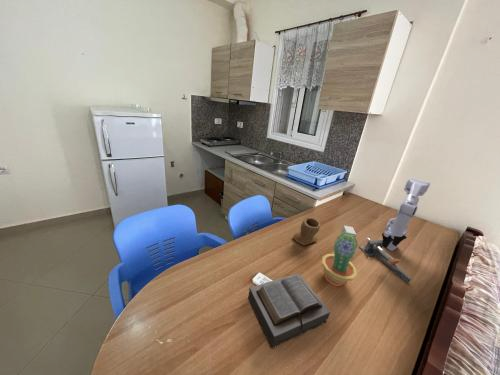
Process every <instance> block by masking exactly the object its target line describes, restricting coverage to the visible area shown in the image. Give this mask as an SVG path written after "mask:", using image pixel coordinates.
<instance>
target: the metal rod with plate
mask: <svg viewBox="0 0 500 375" xmlns="http://www.w3.org/2000/svg"><path fill="white" fill-rule="evenodd" d="M368 241H373V240H372V239H371V237H366V238H365V242H366V243H368ZM374 248H375V249H376V250H377V251H379V252H380V253H381V254H382V255H383V256H384V257H386V258H387V259H388V261H387V262H388V263H389V264H395V265H398V264H400V263H401V260H400V259H399V258H398V257H397V258H394V257H393V256H392V255H390V254H389V253H388V252H387V251H385V250H384V249H383V247H382V248H380V247H379V246H378V245H377V244H376V245H374Z"/></svg>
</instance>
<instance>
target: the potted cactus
mask: <svg viewBox="0 0 500 375" xmlns="http://www.w3.org/2000/svg"><path fill="white" fill-rule="evenodd" d="M340 234H341V233H340ZM340 234H339V235H338V236H337V237H336V240H335V241H334V242H335V243H334V246H333V253H327V254H325V255H323V256H322V261H321V262H322V263H321V264H322V267H323V272H324V278H325V280H326V281H327V282H328V283H329V284H331V285H333V286H336V287H342V286H343V285H344V284H347V282H349V281H352V280H353V279H355V277H357V276H358V273H357V272H358V271H357V268H356V267H355V265H354V264H353V263H352V262H351V261H350V260H352V258H353V257H354V256H355V253H356V252H357V247H358V245H359V244H358V241H357V238H356V237H355V236H354V235H352V234H351V233H349V234H348V233H346V232H345V233H343V234H341V235H340Z"/></svg>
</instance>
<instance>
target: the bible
mask: <svg viewBox="0 0 500 375" xmlns="http://www.w3.org/2000/svg"><path fill="white" fill-rule="evenodd" d="M247 300H248V302H249V304H250V306H251V308H252V311H253V313H254V315H255V318H256V320H257V321H258V324H259V326H260V328H261V330H262V332H263V335H264V337H265V339H266V341H267V343H268V345H269V347H271V348H272V349H274V348H276V347H278V346H279V345H281V344H282V343H284V342H288V341H289V340H292V339H294V338H296V337H298V336H301V335H302V334H305V333H306V332H308V331H311V330H313V329H316V328H319V327H320V326H321V325H322V324H323V323H324V324H325V323H327V322H328V321H327V320H328V319H329V317H330V314H331V310H330V309H329V308H328V307H327V305H326V304H325V303H324V302H323V301H322V299H321V297H319V295H317V293H316V292H315V291H314V289H313V288H312V286H310V285H309V283H308V282H307V281H306V280H305V279H304V277H303V276H302V275H301V273H299V272H297V273H294V274H291V275H289V276H283V277H280V278H277V279H273V280H270V281H267V282H264V283H261V284H258V285H253V286H250V287H249V290H248V296H247ZM277 345H278V346H277ZM275 346H276V347H275ZM273 347H274V348H273ZM271 348H270V349H271Z"/></svg>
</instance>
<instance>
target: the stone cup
mask: <svg viewBox="0 0 500 375" xmlns="http://www.w3.org/2000/svg"><path fill="white" fill-rule="evenodd" d="M320 227H321V224H320V221H319V220H318V219H316V218H314V217H306V218H304V219H303V221H302V222H301V225H300V231H299V232H296V233H295V234H293V236H292V237H293V239H294V240H295V241H296V242H297V243H299V244H300V245H302V246H306V245H309V244H312V243H314V242H317V241H318V240H319V239H318V237H317V235H316V234H318V232H319V231H320Z"/></svg>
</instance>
